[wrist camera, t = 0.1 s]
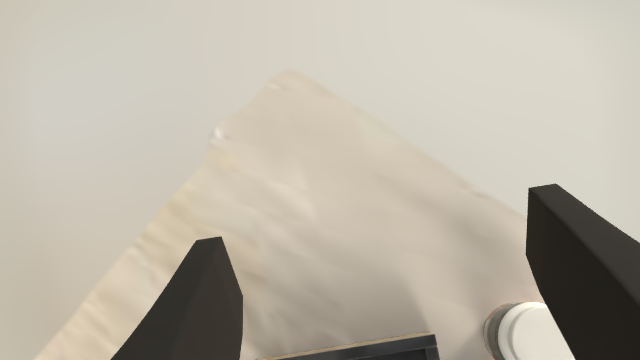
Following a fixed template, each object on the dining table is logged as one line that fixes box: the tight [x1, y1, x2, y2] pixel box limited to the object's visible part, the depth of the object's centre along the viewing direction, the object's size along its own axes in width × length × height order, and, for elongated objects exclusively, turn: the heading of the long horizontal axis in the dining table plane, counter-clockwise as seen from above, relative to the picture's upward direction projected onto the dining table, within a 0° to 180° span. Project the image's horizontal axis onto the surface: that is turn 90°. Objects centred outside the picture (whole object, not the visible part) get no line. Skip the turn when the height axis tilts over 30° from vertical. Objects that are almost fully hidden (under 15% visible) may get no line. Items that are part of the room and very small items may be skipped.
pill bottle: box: [484, 302, 575, 360], centre depth 38 cm, size 5×5×8 cm
